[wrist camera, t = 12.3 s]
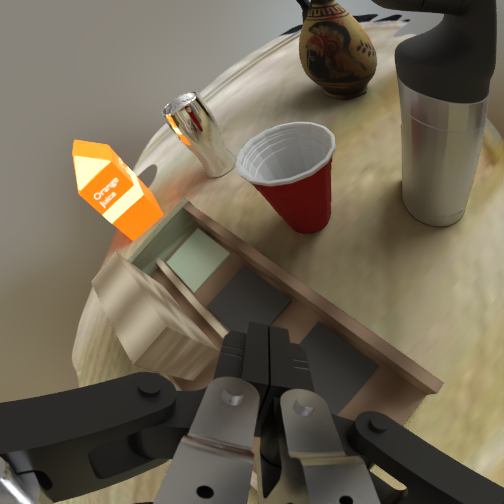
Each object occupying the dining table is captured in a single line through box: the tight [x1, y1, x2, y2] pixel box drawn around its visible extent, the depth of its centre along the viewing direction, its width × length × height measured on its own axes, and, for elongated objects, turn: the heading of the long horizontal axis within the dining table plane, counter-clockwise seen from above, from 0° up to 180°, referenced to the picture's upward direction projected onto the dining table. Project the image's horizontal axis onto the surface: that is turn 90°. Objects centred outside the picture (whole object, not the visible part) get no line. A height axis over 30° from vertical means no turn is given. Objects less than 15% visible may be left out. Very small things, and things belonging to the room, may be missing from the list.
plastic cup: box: [235, 122, 336, 234], centre depth 32 cm, size 11×11×12 cm
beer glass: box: [161, 90, 236, 178], centre depth 44 cm, size 7×7×15 cm
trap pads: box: [207, 264, 379, 415], centre depth 29 cm, size 20×7×1 cm, turn 45°
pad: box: [166, 228, 231, 293], centre depth 39 cm, size 8×7×1 cm
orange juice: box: [72, 140, 163, 241], centre depth 44 cm, size 8×9×20 cm
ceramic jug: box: [296, 0, 377, 100], centre depth 38 cm, size 17×15×30 cm
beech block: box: [92, 252, 220, 381], centre depth 31 cm, size 14×5×10 cm, turn 45°
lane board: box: [127, 198, 444, 491], centre depth 29 cm, size 39×19×5 cm, turn 45°
